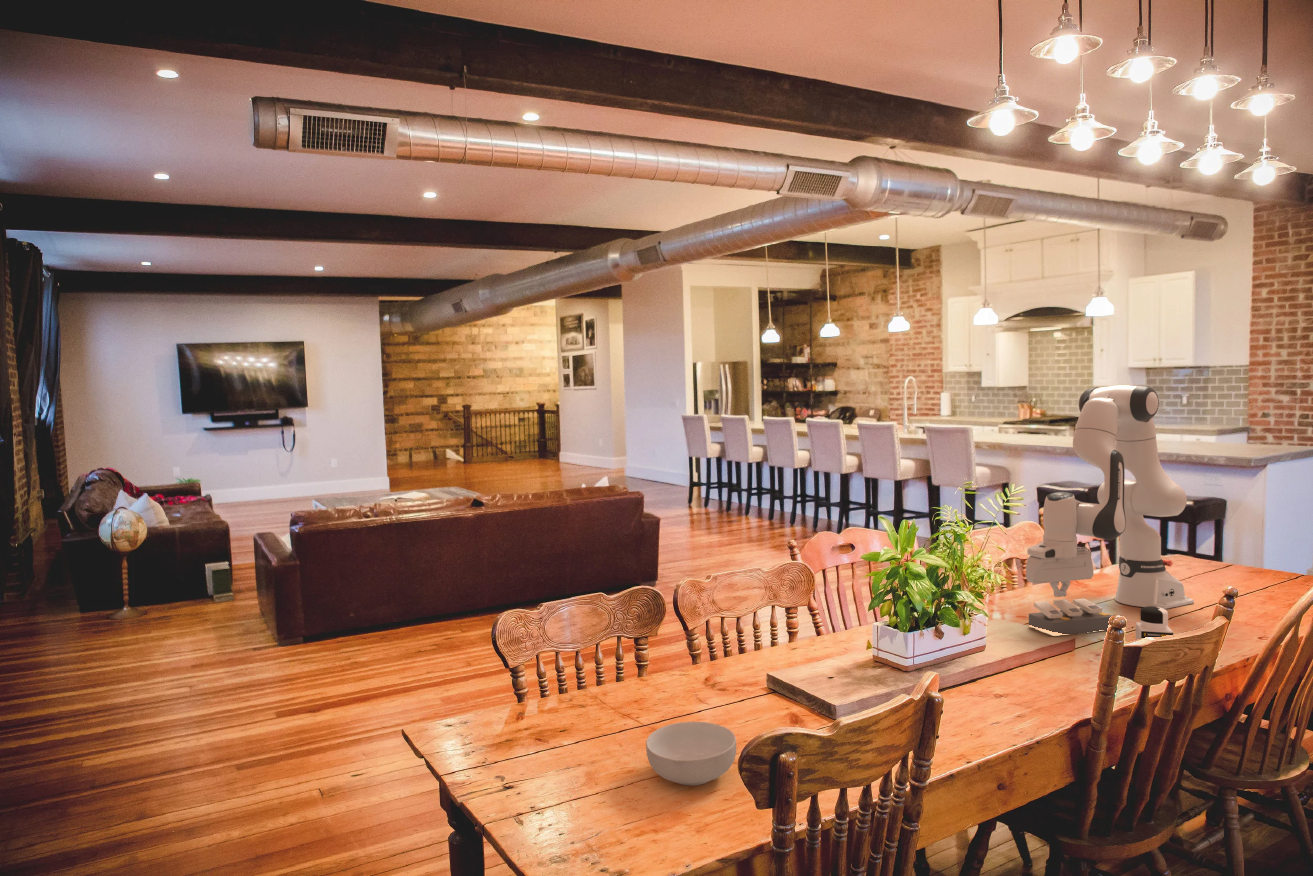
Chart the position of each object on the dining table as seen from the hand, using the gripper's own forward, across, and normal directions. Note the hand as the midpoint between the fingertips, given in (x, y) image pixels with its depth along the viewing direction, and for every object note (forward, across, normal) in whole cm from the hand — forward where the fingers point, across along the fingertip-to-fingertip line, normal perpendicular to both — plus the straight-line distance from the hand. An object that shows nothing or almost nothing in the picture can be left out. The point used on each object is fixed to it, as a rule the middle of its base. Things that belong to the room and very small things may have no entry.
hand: (1060, 596), depth 235 cm
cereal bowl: (+10, +127, +58) cm, 140 cm away
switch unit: (+9, -1, +3) cm, 9 cm away
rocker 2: (+3, 0, +3) cm, 4 cm away
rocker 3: (+3, -7, +3) cm, 8 cm away
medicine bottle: (+9, -5, +28) cm, 30 cm away
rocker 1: (+3, +6, +3) cm, 8 cm away
